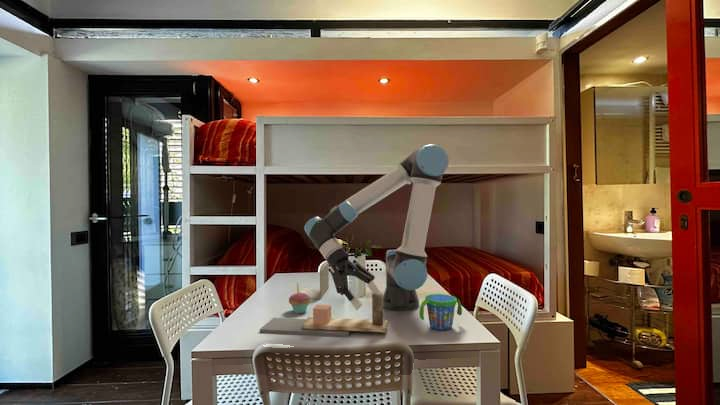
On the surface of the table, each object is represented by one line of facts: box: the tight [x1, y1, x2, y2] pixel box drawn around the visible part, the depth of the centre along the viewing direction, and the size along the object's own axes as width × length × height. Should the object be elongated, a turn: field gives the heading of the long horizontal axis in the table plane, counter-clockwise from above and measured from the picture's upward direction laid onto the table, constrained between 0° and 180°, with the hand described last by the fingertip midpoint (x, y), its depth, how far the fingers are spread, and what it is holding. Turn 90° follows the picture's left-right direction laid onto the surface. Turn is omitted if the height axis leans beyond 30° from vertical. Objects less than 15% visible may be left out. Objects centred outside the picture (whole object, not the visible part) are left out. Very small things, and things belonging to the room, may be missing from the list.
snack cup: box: [418, 293, 463, 331], centre depth 128 cm, size 16×10×10 cm
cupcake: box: [288, 281, 311, 314], centre depth 148 cm, size 9×8×12 cm
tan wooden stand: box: [302, 292, 389, 333], centre depth 126 cm, size 28×8×11 cm, turn 81°
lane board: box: [259, 317, 352, 338], centre depth 128 cm, size 30×12×1 cm, turn 81°
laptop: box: [299, 263, 330, 300], centre depth 174 cm, size 18×12×13 cm
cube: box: [312, 304, 332, 324], centre depth 128 cm, size 5×5×5 cm
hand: (370, 302), depth 125 cm, fingers open, 13 cm apart
